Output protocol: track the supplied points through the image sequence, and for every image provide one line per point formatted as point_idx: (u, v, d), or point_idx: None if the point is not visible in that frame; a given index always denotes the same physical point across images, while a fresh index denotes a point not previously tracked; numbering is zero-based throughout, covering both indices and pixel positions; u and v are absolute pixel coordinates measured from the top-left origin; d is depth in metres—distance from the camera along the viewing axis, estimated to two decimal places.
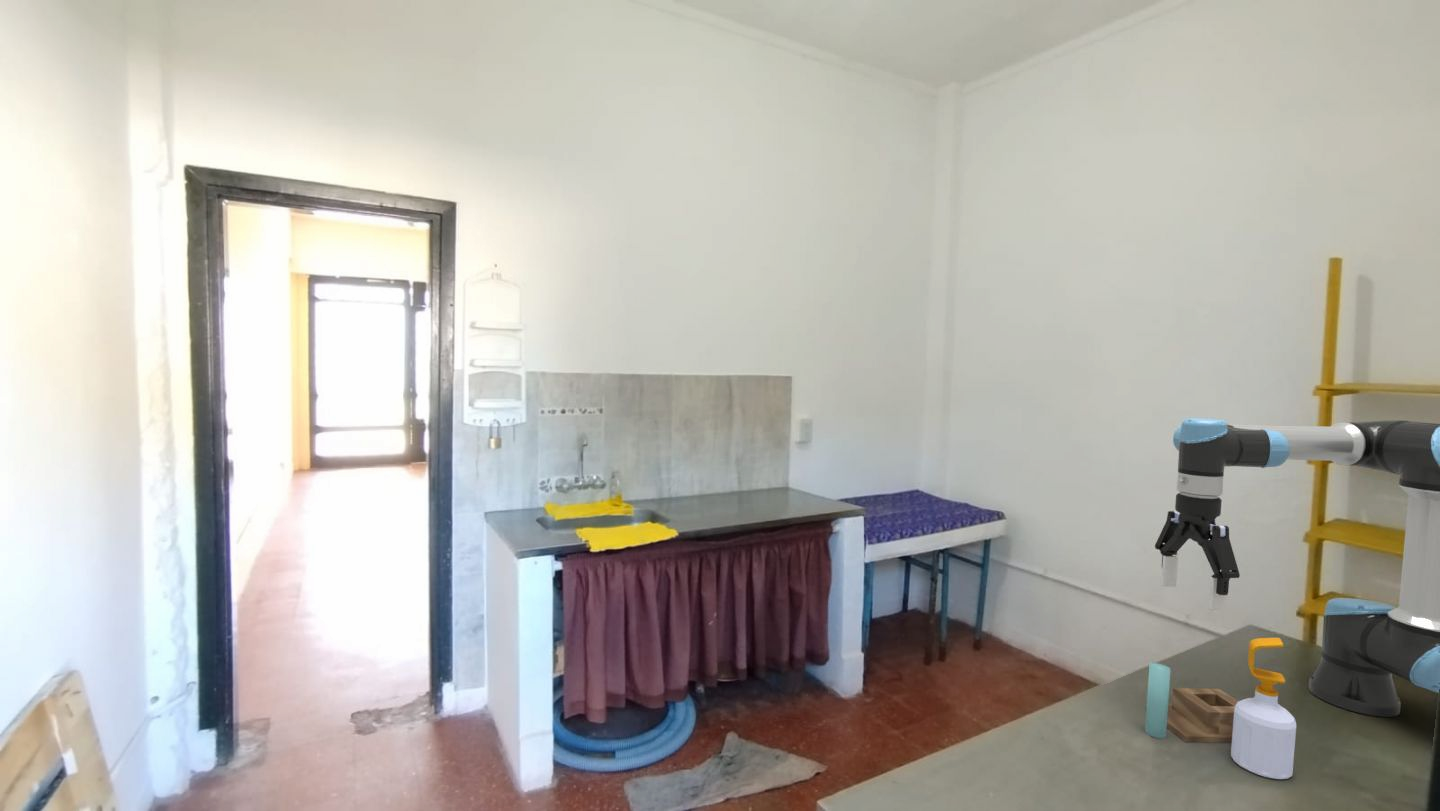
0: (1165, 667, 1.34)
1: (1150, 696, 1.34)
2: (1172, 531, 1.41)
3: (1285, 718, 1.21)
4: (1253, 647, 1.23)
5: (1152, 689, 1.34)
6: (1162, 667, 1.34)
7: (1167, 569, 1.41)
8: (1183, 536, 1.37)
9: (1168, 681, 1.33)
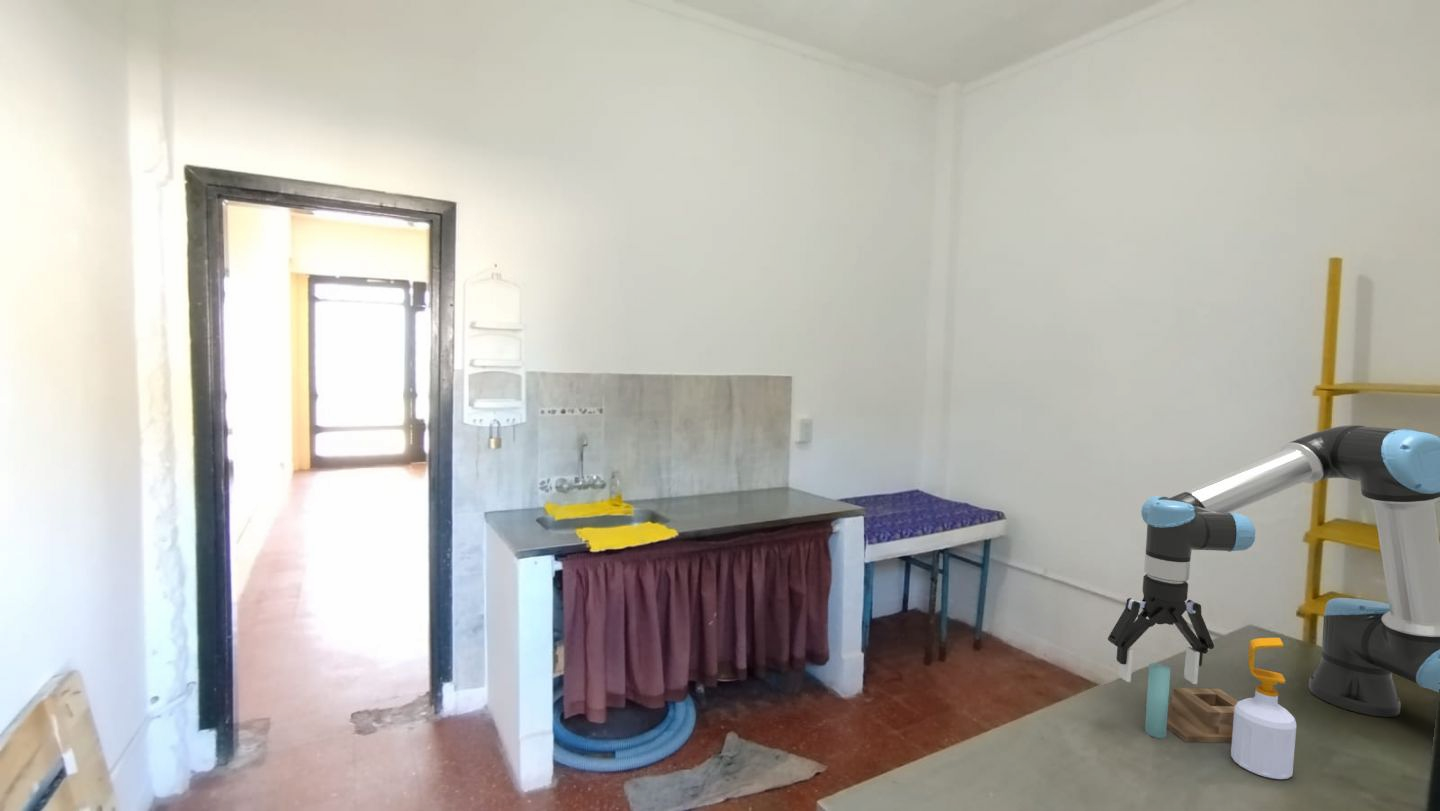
0: (1165, 667, 1.34)
1: (1150, 696, 1.34)
2: (1196, 624, 1.34)
3: (1285, 718, 1.21)
4: (1253, 647, 1.23)
5: (1152, 689, 1.34)
6: (1162, 667, 1.34)
7: (1187, 661, 1.35)
8: (1175, 623, 1.34)
9: (1168, 681, 1.33)
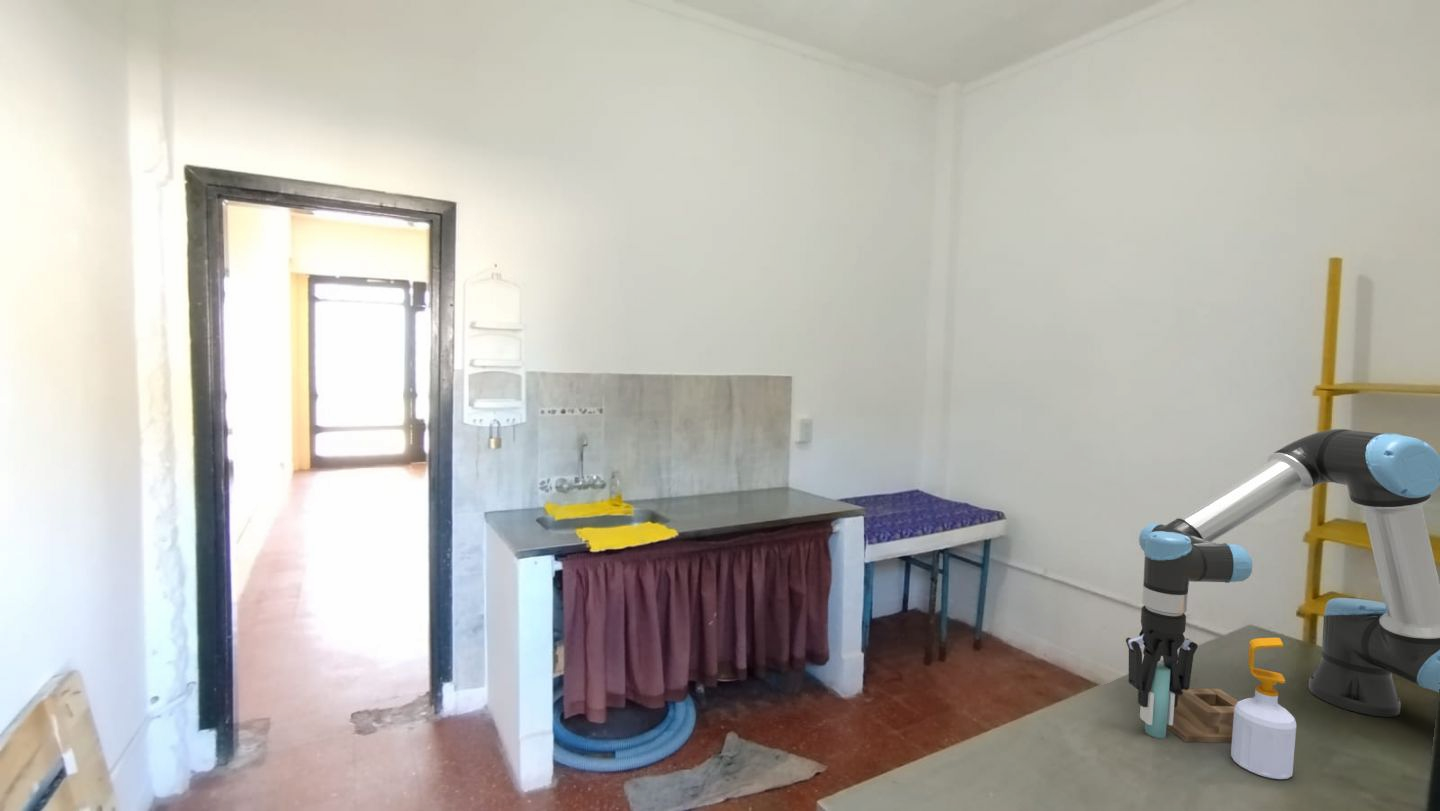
0: (1165, 667, 1.34)
1: None
2: (1182, 662, 1.34)
3: (1285, 718, 1.21)
4: (1253, 647, 1.23)
5: (1152, 689, 1.34)
6: (1162, 667, 1.34)
7: None
8: (1165, 656, 1.34)
9: (1168, 681, 1.33)
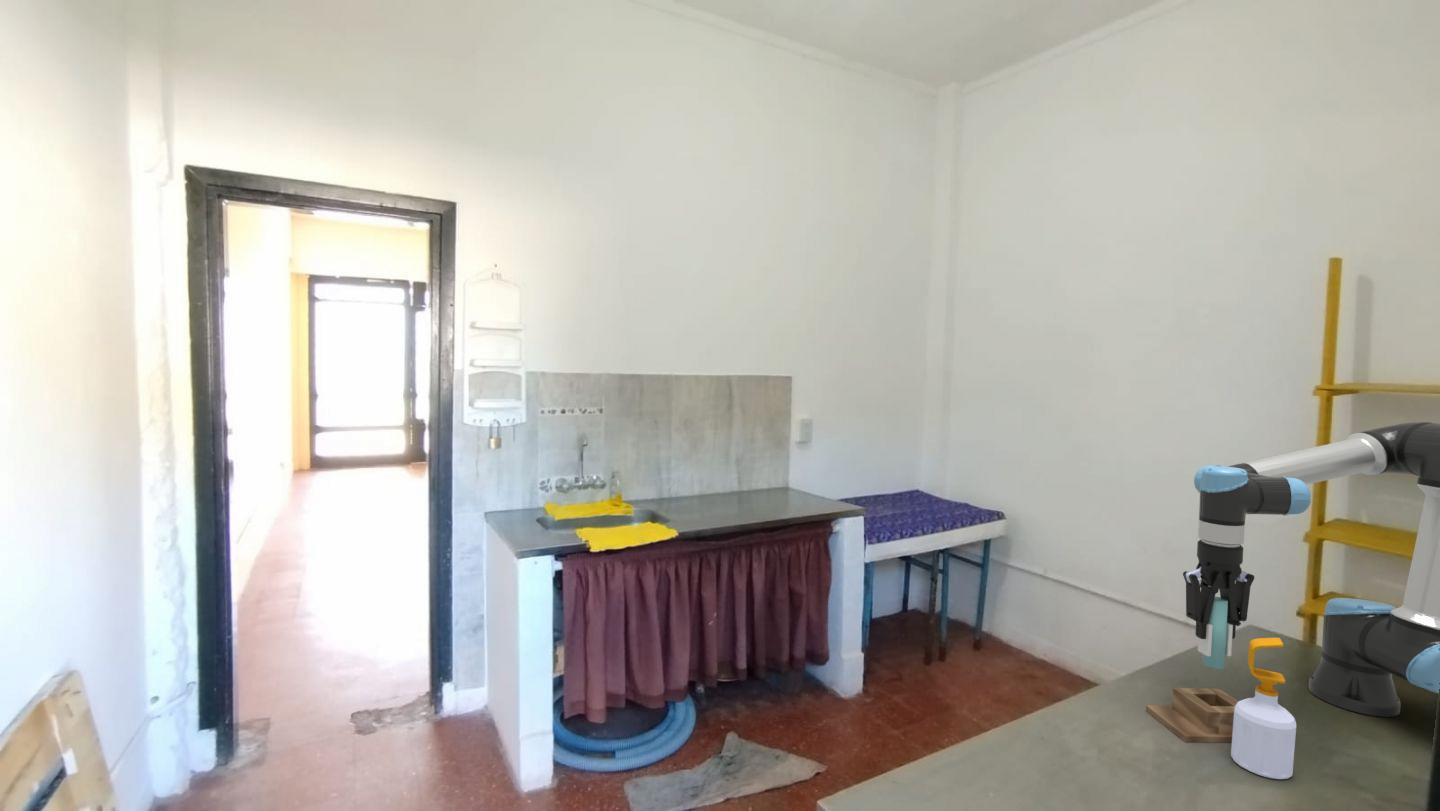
0: (1222, 599, 1.36)
1: None
2: (1239, 594, 1.36)
3: (1285, 718, 1.21)
4: (1253, 647, 1.23)
5: (1210, 621, 1.36)
6: (1219, 599, 1.36)
7: None
8: (1222, 588, 1.36)
9: (1226, 612, 1.35)
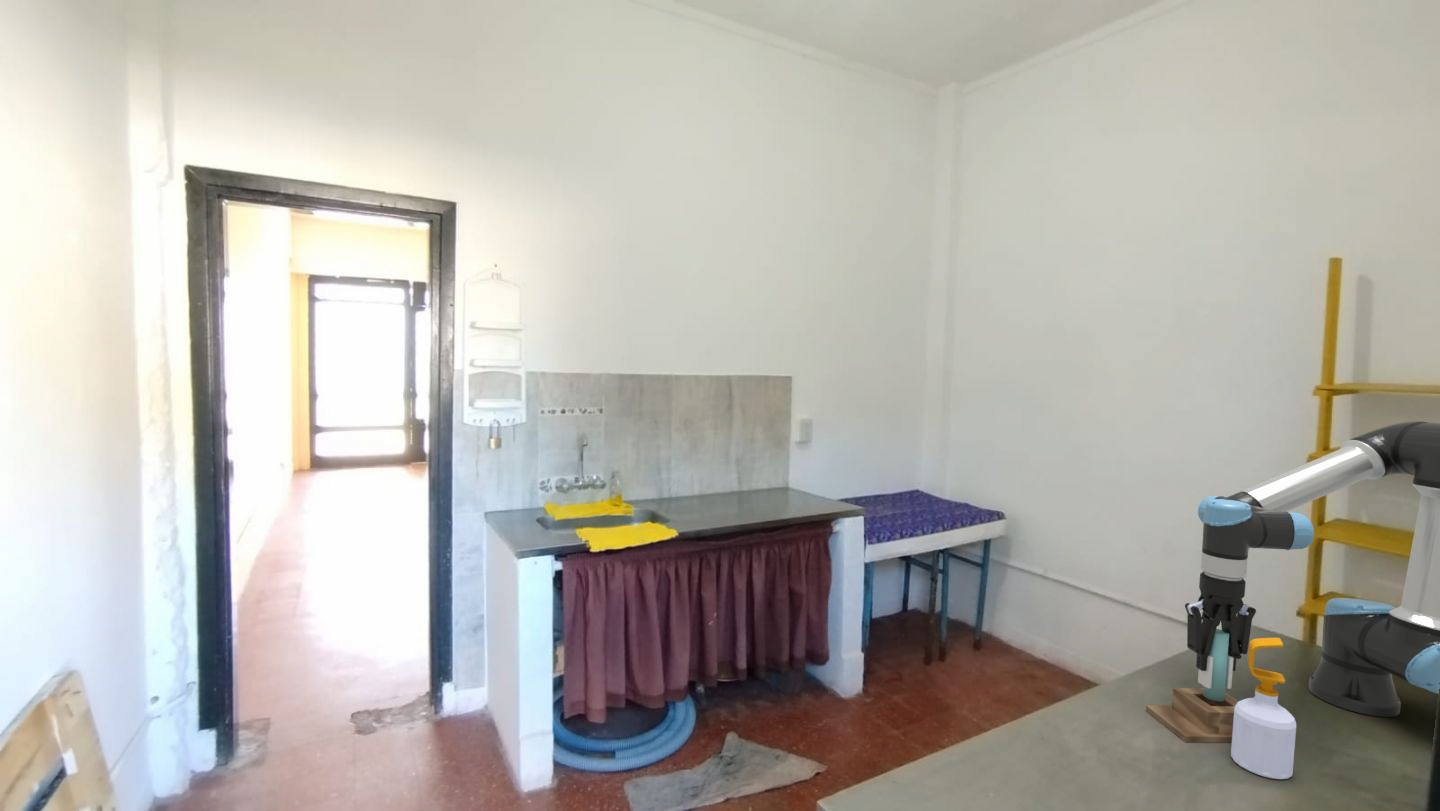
0: (1223, 632, 1.37)
1: None
2: (1240, 627, 1.37)
3: (1285, 718, 1.21)
4: (1253, 647, 1.23)
5: (1211, 653, 1.37)
6: (1221, 631, 1.37)
7: None
8: (1224, 621, 1.37)
9: (1227, 645, 1.36)
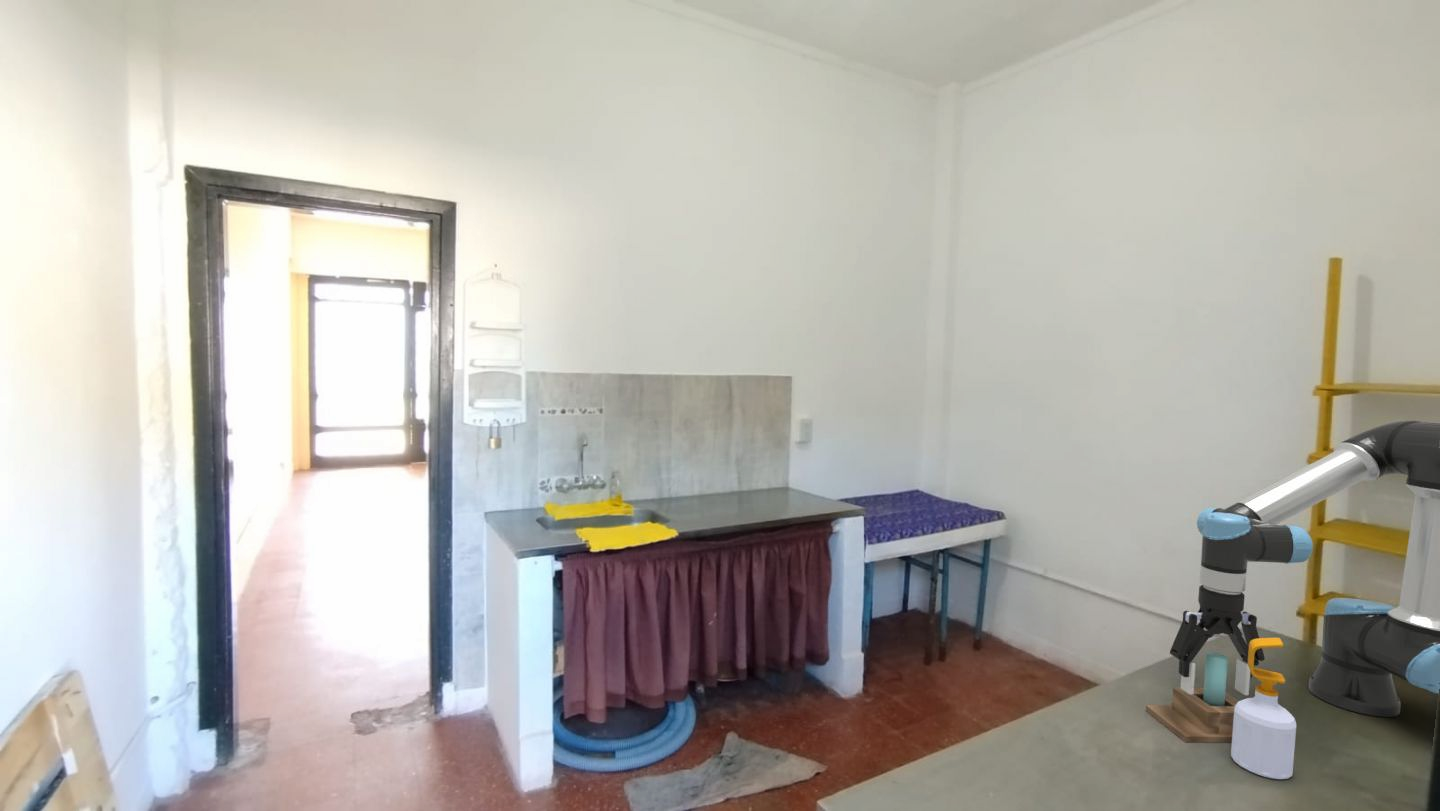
0: (1222, 656, 1.37)
1: (1207, 685, 1.37)
2: (1249, 635, 1.37)
3: (1285, 718, 1.21)
4: (1253, 647, 1.23)
5: (1210, 677, 1.37)
6: (1219, 656, 1.37)
7: (1238, 672, 1.38)
8: None
9: (1225, 670, 1.36)
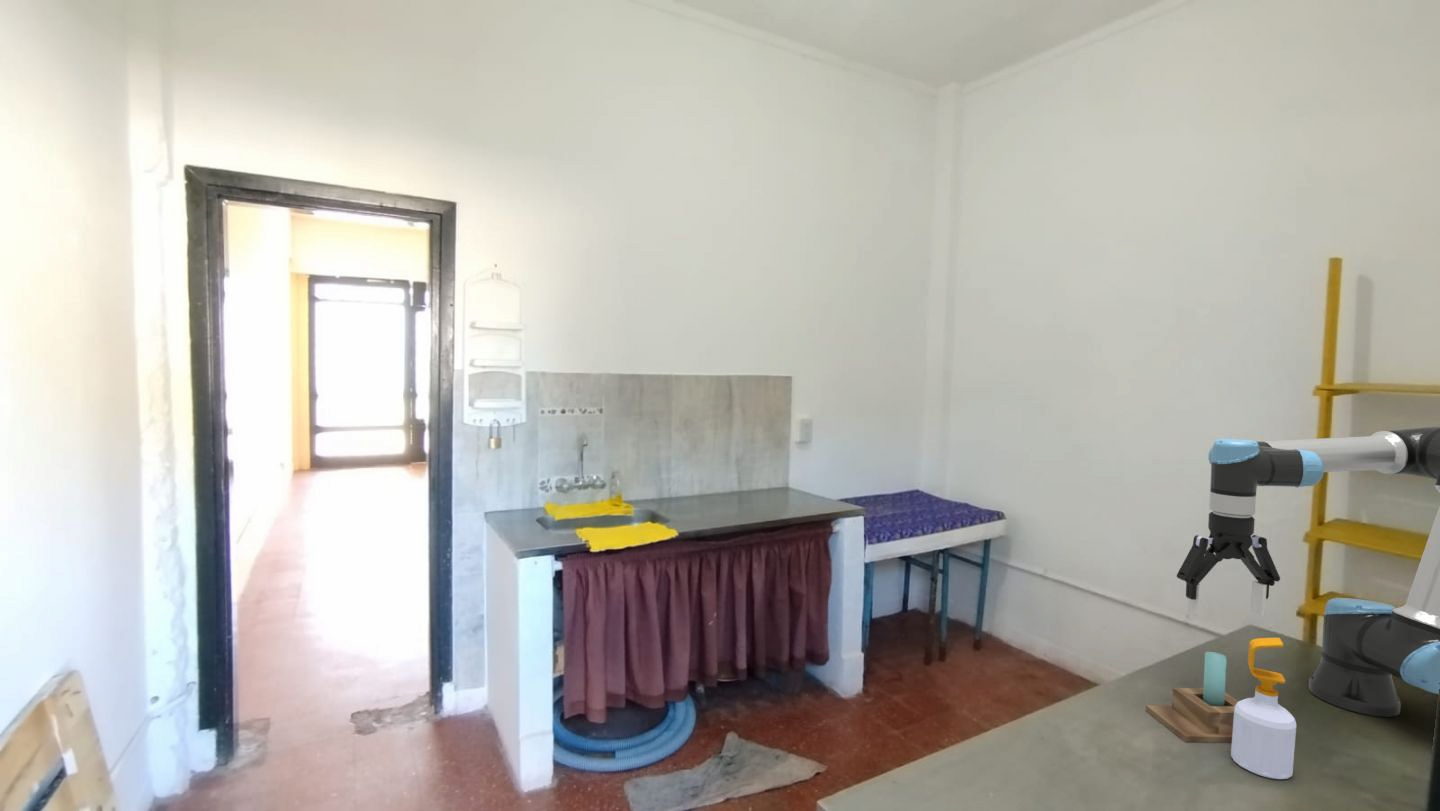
0: (1221, 655, 1.37)
1: (1207, 684, 1.37)
2: (1261, 558, 1.37)
3: (1285, 718, 1.21)
4: (1253, 647, 1.23)
5: (1209, 677, 1.37)
6: (1218, 655, 1.37)
7: (1254, 594, 1.39)
8: (1242, 557, 1.38)
9: (1225, 669, 1.36)
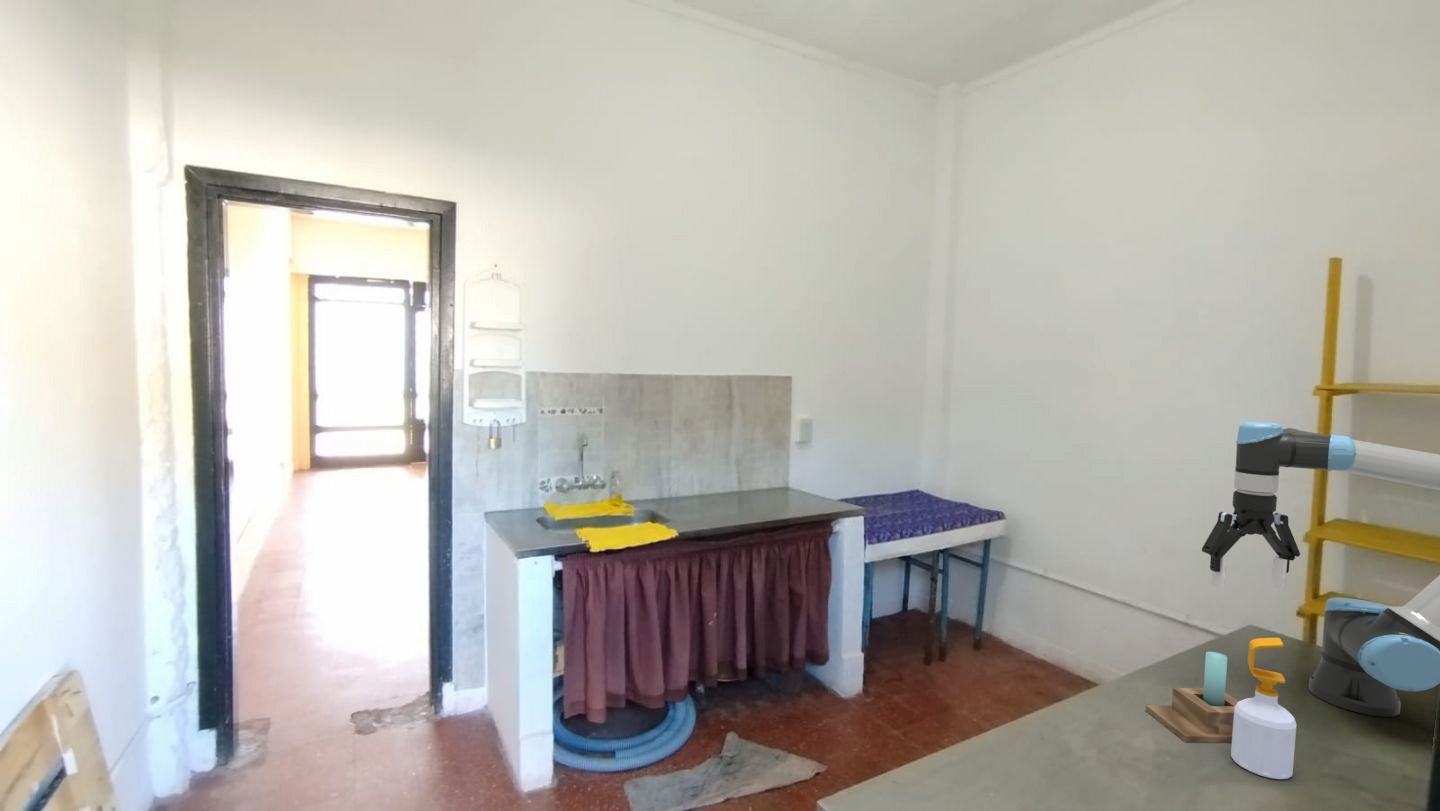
0: (1222, 655, 1.37)
1: (1207, 684, 1.38)
2: (1283, 534, 1.46)
3: (1285, 718, 1.21)
4: (1253, 647, 1.23)
5: (1209, 676, 1.37)
6: (1219, 655, 1.38)
7: (1275, 569, 1.47)
8: (1264, 533, 1.46)
9: (1225, 669, 1.36)
